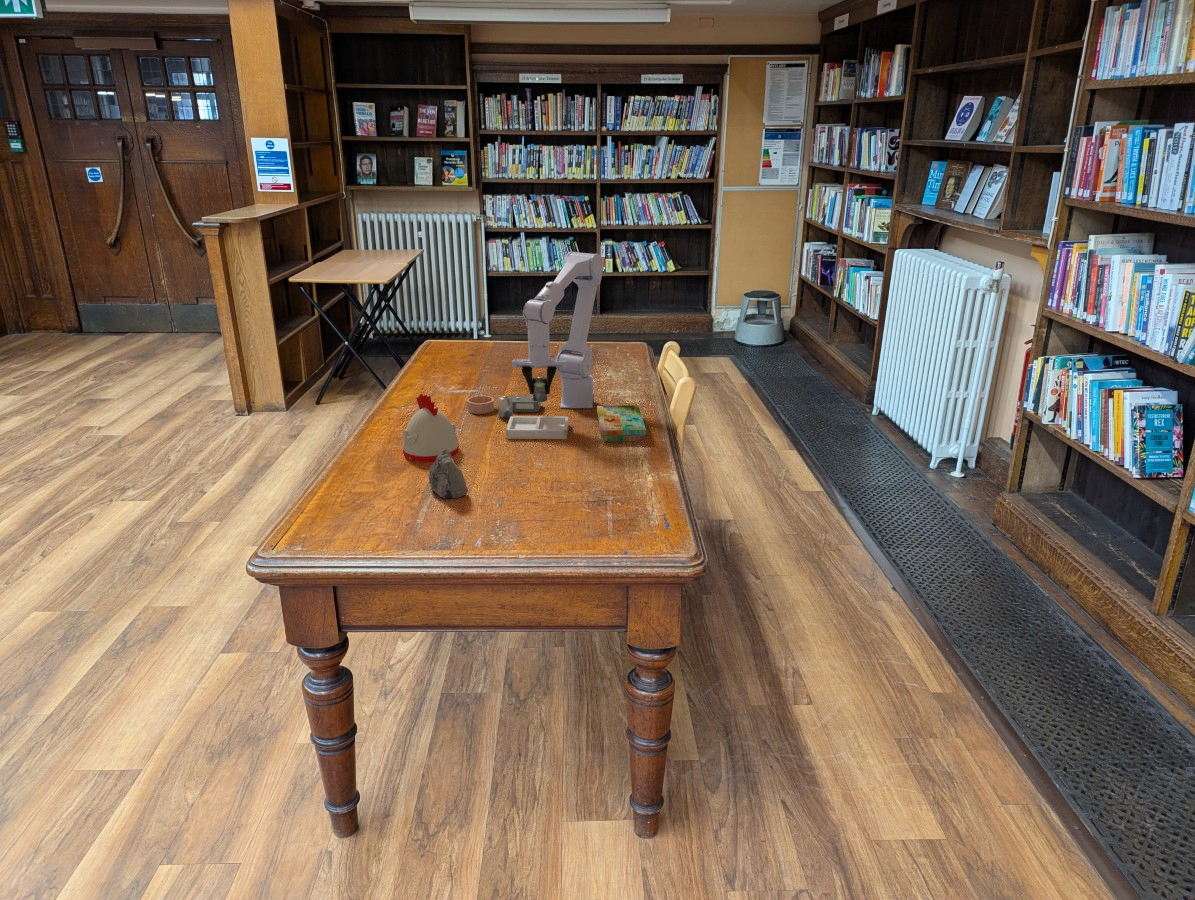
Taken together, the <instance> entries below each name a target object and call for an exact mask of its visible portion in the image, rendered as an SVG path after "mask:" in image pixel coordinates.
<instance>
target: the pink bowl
mask: <svg viewBox="0 0 1195 900" xmlns="http://www.w3.org/2000/svg"><path fill="white" fill-rule="evenodd" d="M495 407H496V406H495V398H494V397H493V396H490V395H475V396H471V397H468V398H467V399H466V409H467V412H469V414H470V413H471V414H476V415H481V414H483V415H484V414H490V413H492V412H494V411H495Z"/></svg>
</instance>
